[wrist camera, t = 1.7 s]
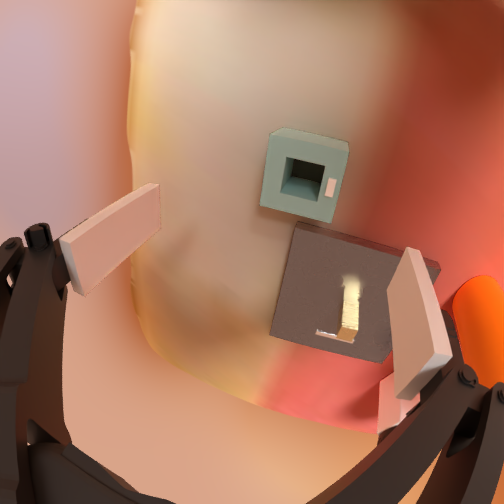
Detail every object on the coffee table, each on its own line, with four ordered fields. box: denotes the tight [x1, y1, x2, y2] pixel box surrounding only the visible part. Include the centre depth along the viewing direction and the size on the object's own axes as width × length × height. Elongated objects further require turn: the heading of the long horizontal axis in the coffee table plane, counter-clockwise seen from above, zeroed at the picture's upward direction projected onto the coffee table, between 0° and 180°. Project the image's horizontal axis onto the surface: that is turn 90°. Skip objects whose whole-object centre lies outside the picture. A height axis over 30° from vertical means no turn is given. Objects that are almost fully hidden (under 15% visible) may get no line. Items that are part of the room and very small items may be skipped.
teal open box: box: [259, 127, 349, 224], centre depth 23 cm, size 6×6×5 cm
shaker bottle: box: [452, 275, 504, 389], centre depth 17 cm, size 9×9×20 cm
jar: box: [377, 372, 420, 446], centre depth 31 cm, size 9×8×12 cm
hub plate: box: [270, 221, 441, 364], centre depth 29 cm, size 16×16×6 cm
